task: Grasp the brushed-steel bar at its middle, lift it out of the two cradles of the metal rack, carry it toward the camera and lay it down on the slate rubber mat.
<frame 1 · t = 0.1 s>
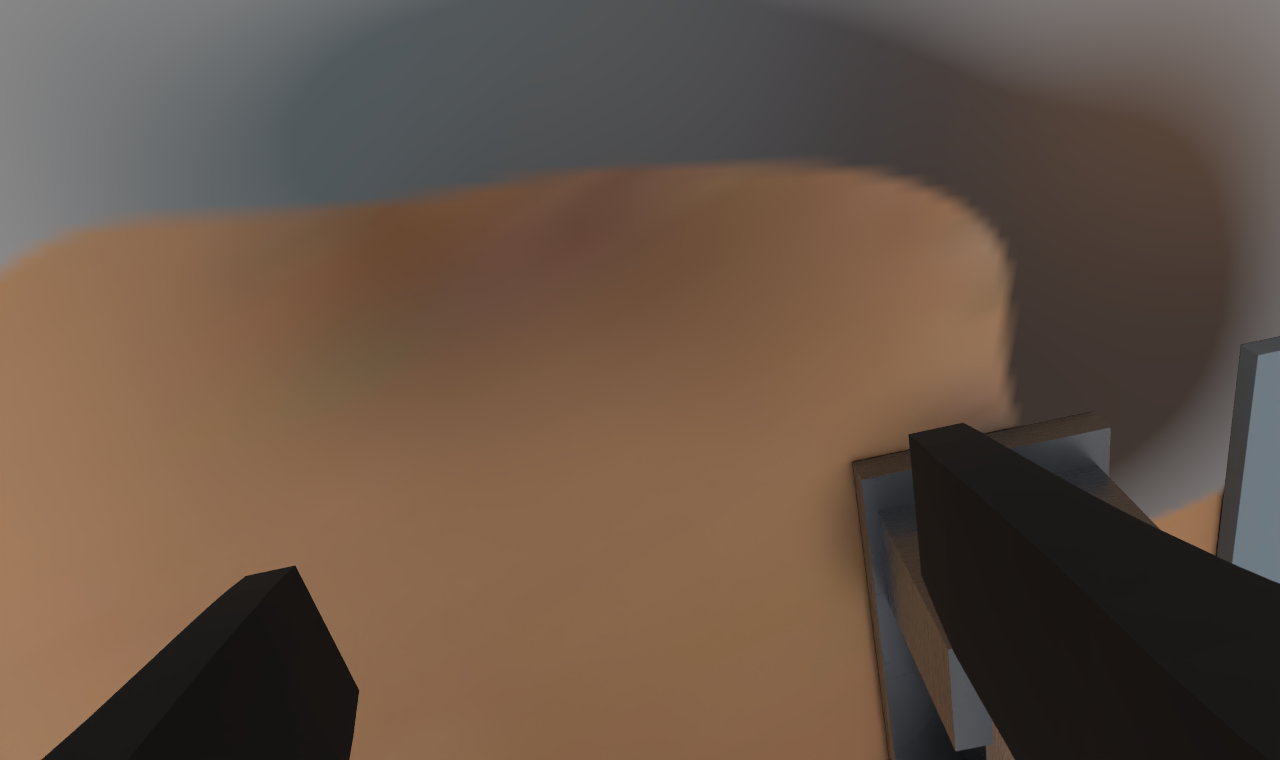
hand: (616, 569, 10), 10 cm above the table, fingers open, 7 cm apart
rack: (982, 667, 25), on the table
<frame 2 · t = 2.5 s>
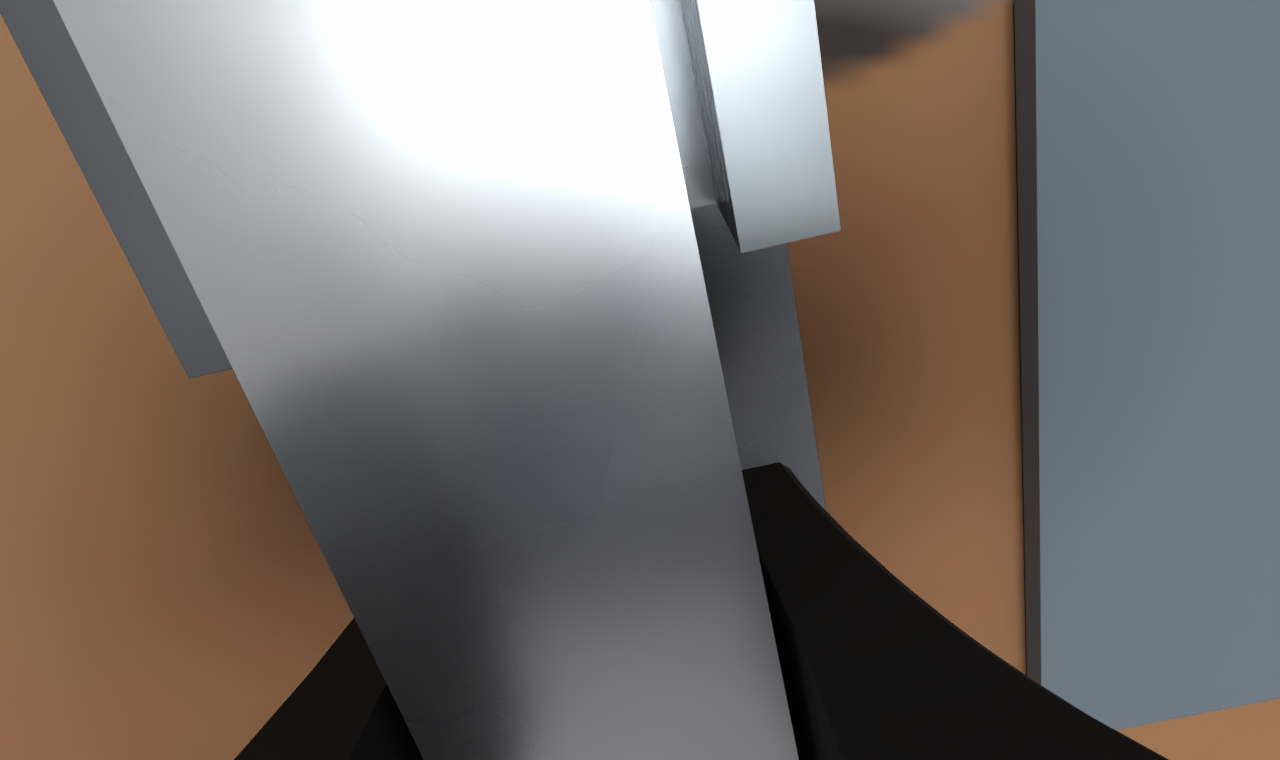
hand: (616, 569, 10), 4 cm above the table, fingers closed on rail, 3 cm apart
rail: (616, 569, 10), point 4 cm above the table, touching gripper, rack
rack: (609, 405, 14), on the table
mat: (1250, 265, 13), on the table
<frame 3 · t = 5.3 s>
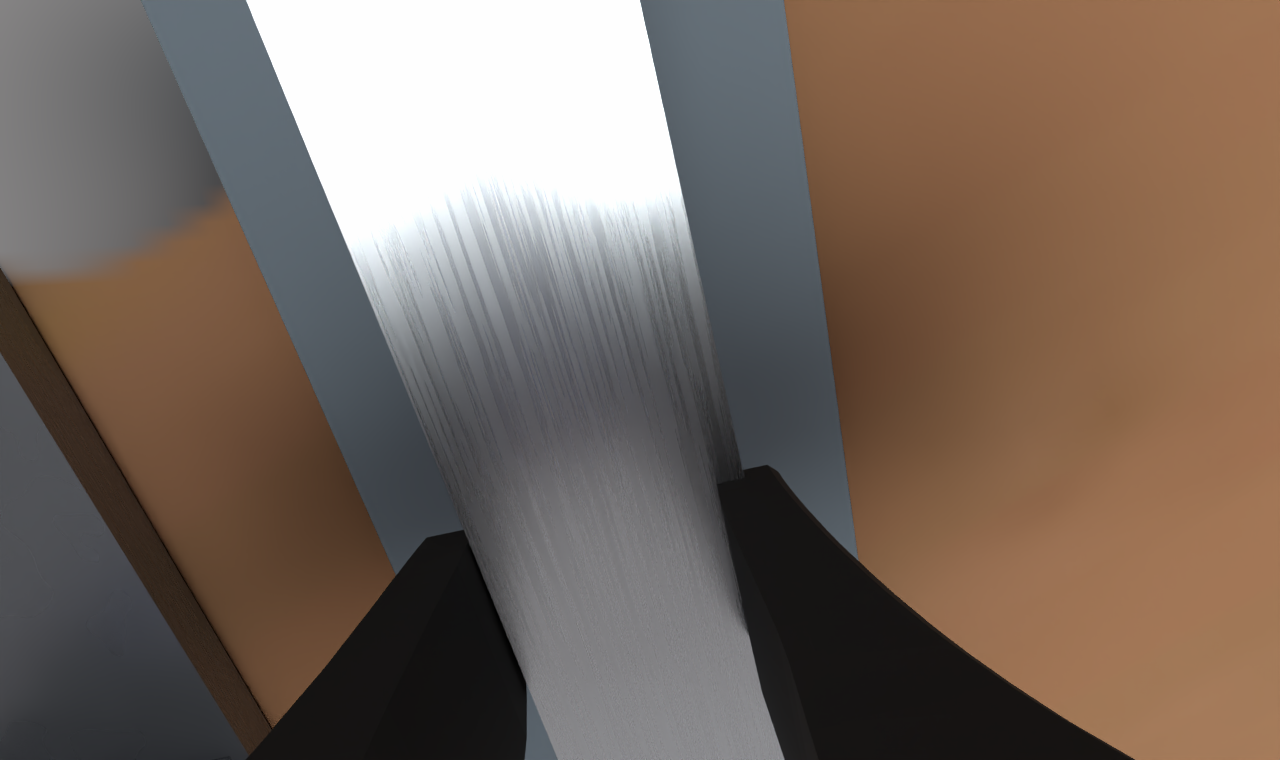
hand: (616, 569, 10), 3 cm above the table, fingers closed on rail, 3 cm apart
rail: (497, 527, 11), point 2 cm above the table, tilted 94°, touching gripper, mat
mat: (598, 434, 13), on the table
when the fingers open (3 cm above the table, at t = 5.8 s): rail stays where it is, resting on mat.
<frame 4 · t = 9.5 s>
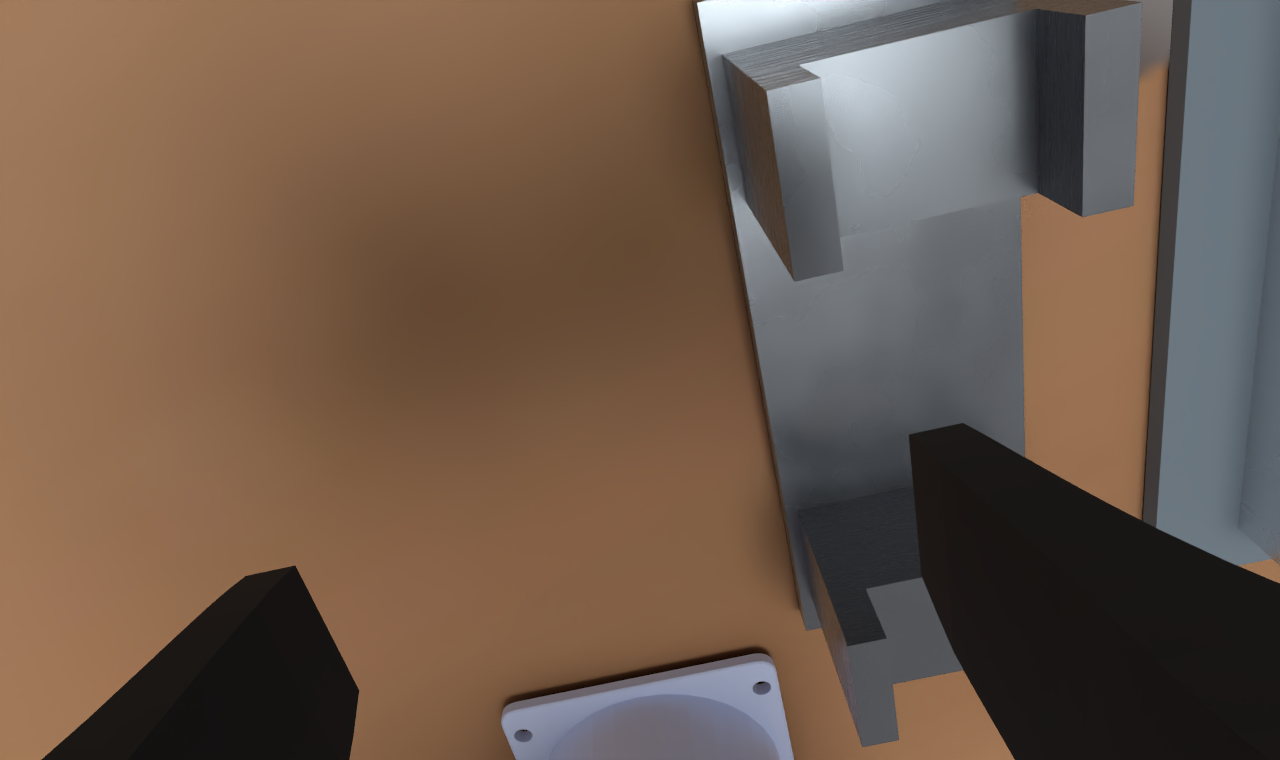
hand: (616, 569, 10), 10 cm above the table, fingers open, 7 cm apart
rack: (880, 331, 20), on the table
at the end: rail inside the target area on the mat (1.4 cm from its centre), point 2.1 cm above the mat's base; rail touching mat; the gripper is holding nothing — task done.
